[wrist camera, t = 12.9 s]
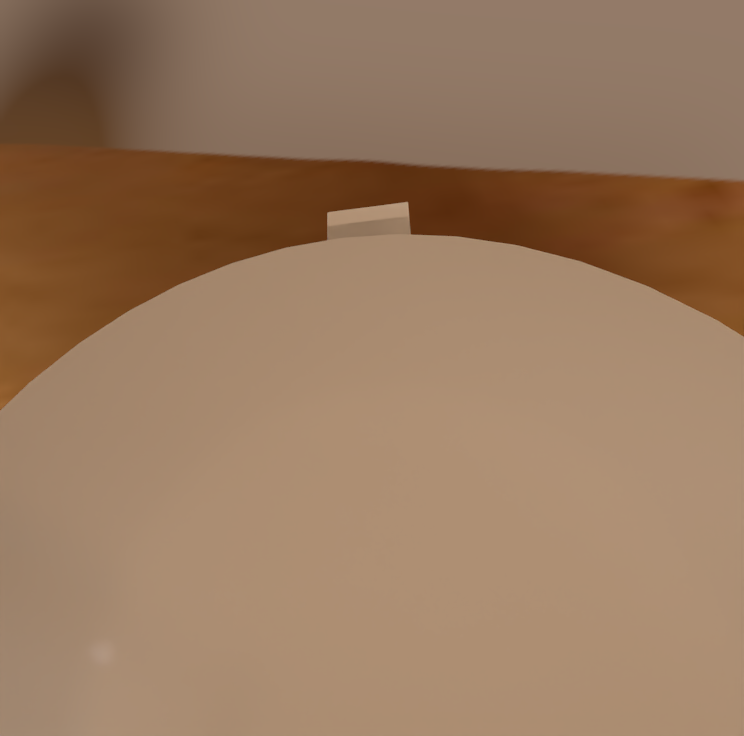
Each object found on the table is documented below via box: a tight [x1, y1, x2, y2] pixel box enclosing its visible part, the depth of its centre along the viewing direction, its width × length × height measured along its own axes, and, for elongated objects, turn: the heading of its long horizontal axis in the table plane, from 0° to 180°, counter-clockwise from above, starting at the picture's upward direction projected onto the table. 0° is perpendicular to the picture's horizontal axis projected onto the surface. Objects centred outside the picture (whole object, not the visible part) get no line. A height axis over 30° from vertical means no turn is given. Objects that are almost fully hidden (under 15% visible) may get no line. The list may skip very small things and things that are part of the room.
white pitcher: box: [0, 202, 744, 736], centre depth 10 cm, size 9×12×14 cm
